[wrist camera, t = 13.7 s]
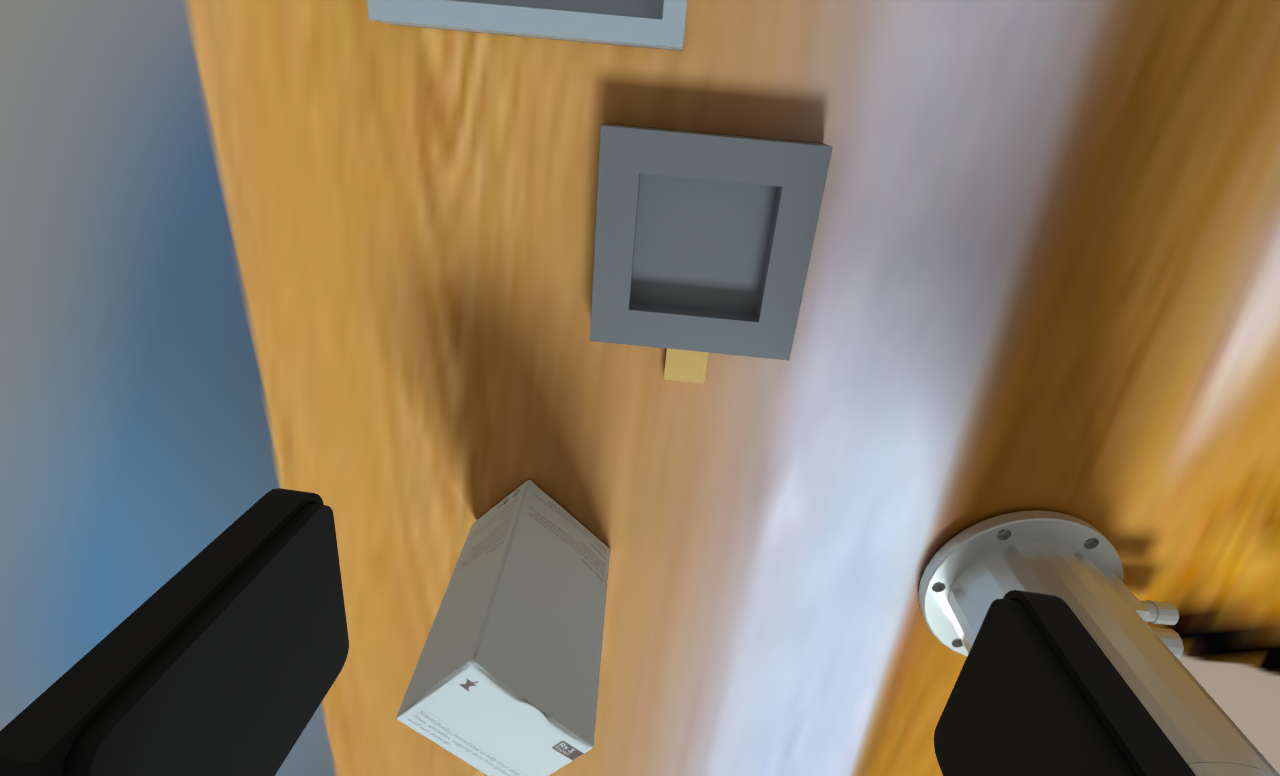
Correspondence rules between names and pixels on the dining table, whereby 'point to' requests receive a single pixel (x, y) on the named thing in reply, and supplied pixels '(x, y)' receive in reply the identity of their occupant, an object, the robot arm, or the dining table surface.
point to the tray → (547, 19)
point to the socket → (703, 242)
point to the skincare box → (516, 642)
